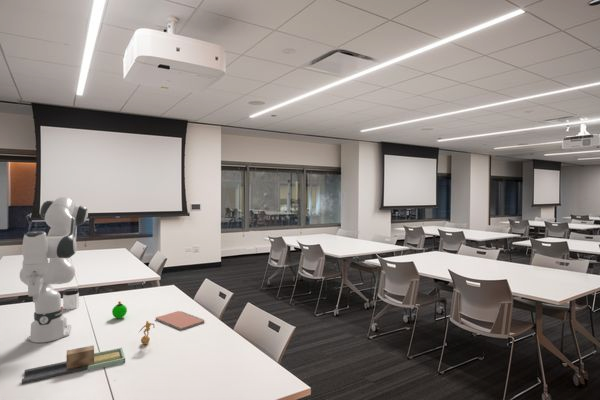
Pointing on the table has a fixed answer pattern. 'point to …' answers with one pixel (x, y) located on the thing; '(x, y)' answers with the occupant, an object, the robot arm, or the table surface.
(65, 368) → the slot bed
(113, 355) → the brass chip
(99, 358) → the brass chip
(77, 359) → the brown wooden block
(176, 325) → the notebook
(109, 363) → the tray
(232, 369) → the table surface
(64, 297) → the jar
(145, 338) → the figurine
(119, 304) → the ornament
